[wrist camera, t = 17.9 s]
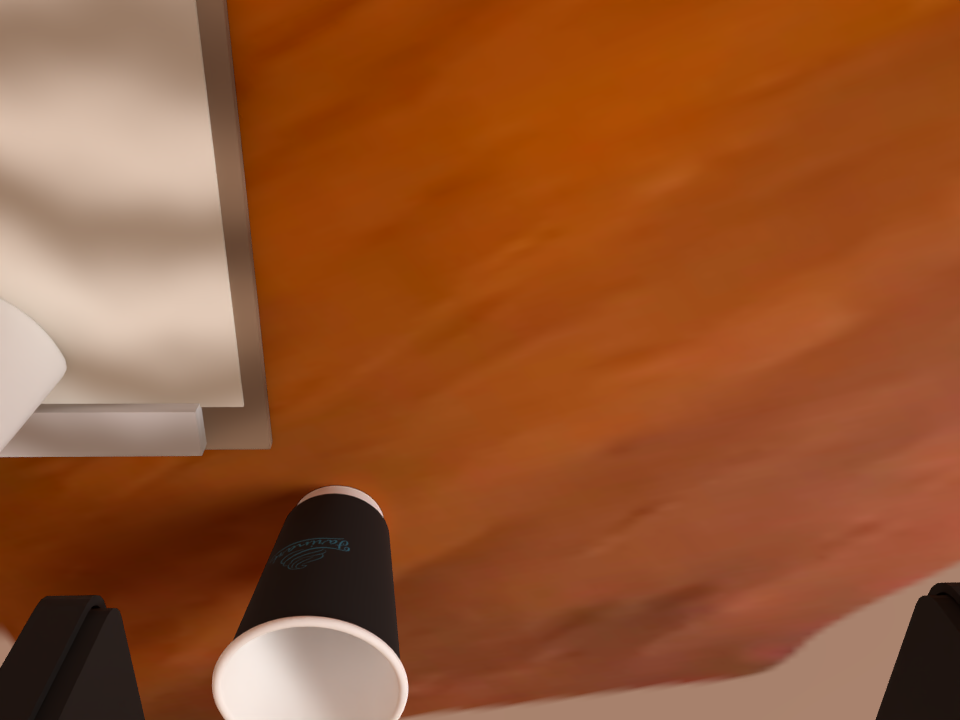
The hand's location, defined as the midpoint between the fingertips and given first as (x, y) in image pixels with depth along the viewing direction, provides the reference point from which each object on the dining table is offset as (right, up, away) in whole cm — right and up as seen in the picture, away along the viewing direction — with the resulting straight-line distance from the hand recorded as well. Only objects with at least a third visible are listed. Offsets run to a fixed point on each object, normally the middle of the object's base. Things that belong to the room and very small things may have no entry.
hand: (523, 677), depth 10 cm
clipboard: (-18, +10, +26) cm, 33 cm away
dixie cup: (-8, -5, +34) cm, 35 cm away
